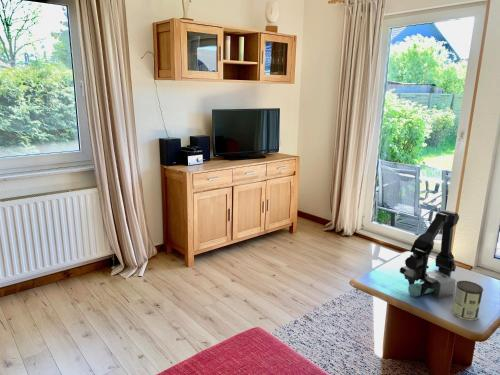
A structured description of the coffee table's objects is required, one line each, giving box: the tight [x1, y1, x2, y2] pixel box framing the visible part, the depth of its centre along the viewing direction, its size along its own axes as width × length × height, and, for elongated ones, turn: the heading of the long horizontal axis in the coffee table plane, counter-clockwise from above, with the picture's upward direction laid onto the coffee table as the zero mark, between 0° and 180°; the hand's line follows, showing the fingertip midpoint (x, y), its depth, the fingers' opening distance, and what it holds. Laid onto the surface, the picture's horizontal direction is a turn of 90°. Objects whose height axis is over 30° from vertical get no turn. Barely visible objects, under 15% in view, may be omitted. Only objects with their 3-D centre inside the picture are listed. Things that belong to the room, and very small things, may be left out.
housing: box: [419, 269, 457, 299], centre depth 186 cm, size 11×12×8 cm
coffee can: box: [451, 280, 484, 321], centre depth 165 cm, size 10×10×14 cm
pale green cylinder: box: [407, 282, 435, 298], centre depth 182 cm, size 13×6×6 cm, turn 113°
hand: (416, 292), depth 181 cm, fingers closed on pale green cylinder, 6 cm apart
